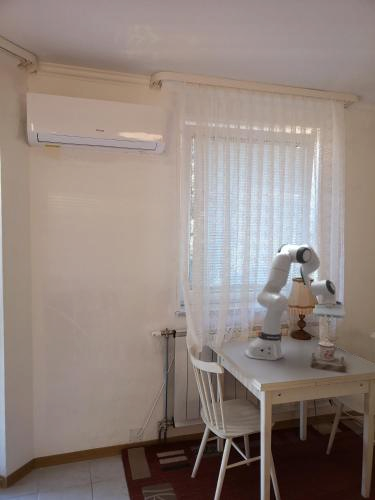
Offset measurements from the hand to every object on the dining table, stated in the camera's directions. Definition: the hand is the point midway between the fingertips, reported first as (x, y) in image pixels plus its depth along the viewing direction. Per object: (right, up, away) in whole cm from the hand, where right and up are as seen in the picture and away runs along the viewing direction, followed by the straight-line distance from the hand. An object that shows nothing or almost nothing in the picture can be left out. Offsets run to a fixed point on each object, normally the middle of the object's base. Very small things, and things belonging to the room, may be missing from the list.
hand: (328, 322), depth 234 cm
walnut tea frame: (-11, -19, -27) cm, 35 cm away
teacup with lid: (-7, -19, -17) cm, 26 cm away
